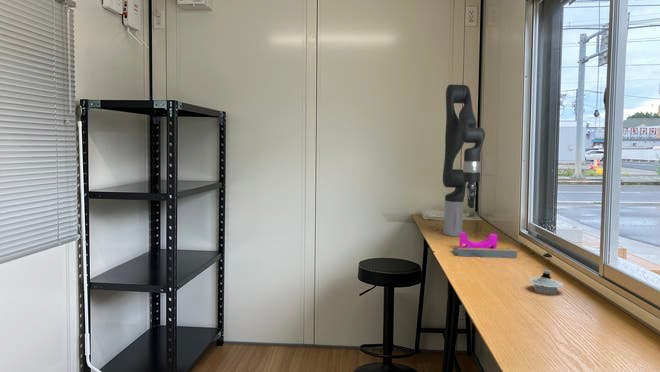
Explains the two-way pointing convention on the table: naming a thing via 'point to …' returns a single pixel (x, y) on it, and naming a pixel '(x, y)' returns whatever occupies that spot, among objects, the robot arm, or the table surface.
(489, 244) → the toy block
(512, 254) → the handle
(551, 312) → the table surface
